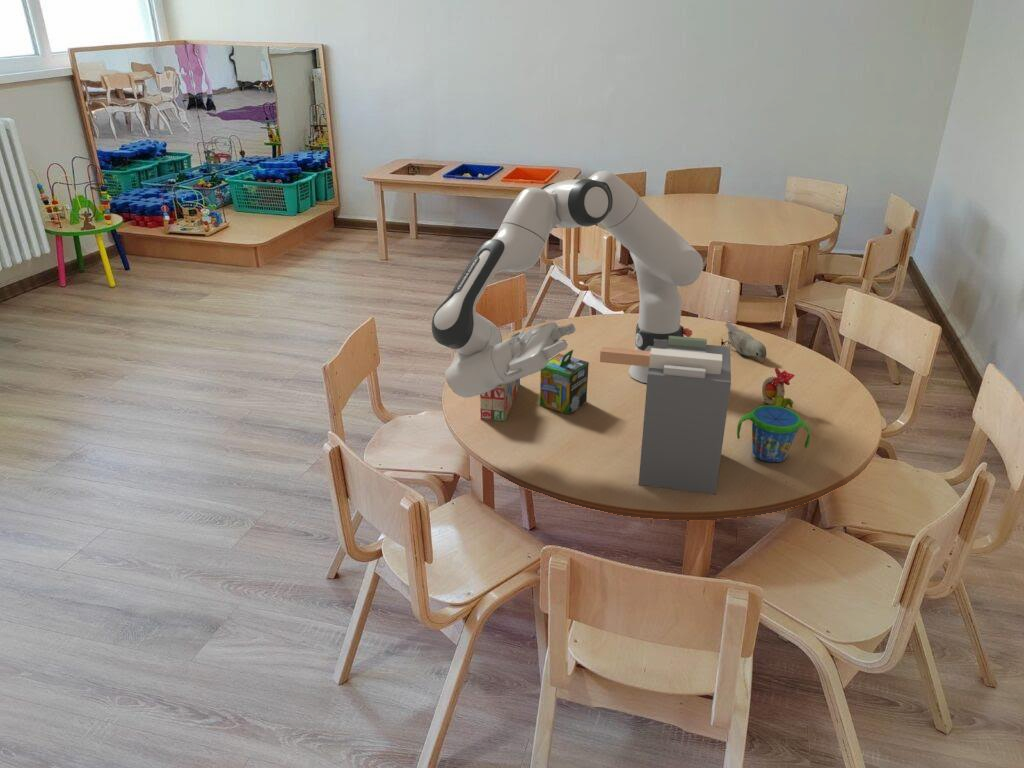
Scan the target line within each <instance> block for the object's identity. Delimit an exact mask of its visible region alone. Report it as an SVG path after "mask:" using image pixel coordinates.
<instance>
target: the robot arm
mask: <svg viewBox="0 0 1024 768" xmlns="http://www.w3.org/2000/svg"><path fill="white" fill-rule="evenodd" d="M599 223H600V224H601V225H602V226H603V227H604V228H605V229H606V230H607V231H608V232H609V233H610V234H611V235H612V236H613V237H614V238H615V239H616V240H617V241H618V242H619V243H620V244H621V245H622V246H623V247H625V249H627V250H628V251H629V254H630V257H631V259H632V261H633V265H634V268H635V273H636V278H637V280H636V281H637V285H638V287H637V288H638V292H639V293H638V294H639V308H638V322H637V324H636V326H635V341H634V342H635V348H634V350H642V351H651V348H653V346H654V341H655V340H661V341H668V340H669V336H678V337H690V338H691V337H692V335H693V330H691V329H690V328H688V327H685V328H684V326H683V325H681V318H682V317H681V316H682V308H683V299H682V295H681V293H680V291H679V289H678V287H688V286H691V285H693V284H694V283H695V282H696V281H697V280H698V279H699V278H700V276H702V275H701V274H702V272H703V270H704V260H703V256H702V255H701V254H700V253H699V252H698V250H696V249H695V248H694V247H693V246H692V245H691V244H690V243H689V242H688V241H687V240H686V239H685V238H684V237H683V236H682V235H681V234H679V232H677V231H676V230H675V229H674V228H672V226H671V225H669V224H668V223H667V222H666V221H665V220H663V219H662V218H661V217H660V216H659V215H658V214H656V213H655V211H654V210H653V209H652V208H651V207H650V206H649V205H648V204H647V203H646V202H645V201H644V200H643V199H642V198H641V196H640V195H638V193H637V192H636V191H635V190H634V189H633V188H632V187H631V186H630V185H629V184H628V183H627V182H625V181H624V179H622V178H621V177H619V176H618V175H616V174H615V173H613V172H611V171H610V170H599V171H596V172H594V173H593V174H592V175H590V176H589V177H588V178H583V179H576V178H575V179H565V180H563V181H558V182H551V183H548V184H546V185H544V186H542V187H541V188H539V187H534V186H533V187H532V186H531V187H526V188H524V189H523V190H521V191H520V192H519V194H518V195H517V197H516V198H515V199H514V201H513V202H512V204H511V205H510V207H509V209H508V211H507V212H506V214H505V216H504V218H503V220H502V222H501V225H500V227H499V228H498V230H497V231H496V233H495V234H494V236H493V237H492V238H491V239H489V240H486V241H485V242H484V243H483V244H481V245H480V247H479V248H477V249H478V250H477V251H476V252H475V254H474V255H473V257H472V258H471V259H470V261H469V263H468V264H467V266H466V268H465V269H464V271H463V273H461V276H460V278H459V279H458V280H457V282H456V283H455V286H454V287H453V289H452V290H451V292H450V293H449V295H448V296H447V297H446V299H445V300H443V302H442V303H441V304H440V305H439V307H438V308H437V309H436V310H435V311H434V313H433V316H432V319H431V320H432V321H431V333H432V336H433V339H434V340H435V341H436V342H437V343H438V344H439V345H441V346H444V347H446V348H450V349H451V350H454V351H455V354H454V357H453V360H452V363H450V366H449V367H448V368H447V369H446V370H445V375H444V376H445V380H446V383H447V384H448V386H449V388H450V389H451V390H452V392H453V393H455V394H456V395H458V396H459V397H462V398H464V399H465V398H466V399H467V398H472V397H473V398H474V397H477V396H480V394H483V393H486V392H489V391H491V390H493V389H495V388H496V387H497V386H499V385H501V384H508V383H511V382H513V381H516V380H518V379H520V380H521V379H523V378H525V377H528V376H531V375H533V374H535V373H539V372H541V370H542V369H543V368H545V366H546V364H547V362H548V361H549V360H550V359H552V358H553V357H555V356H556V355H558V354H560V352H563V351H565V350H566V349H567V348H568V347H569V345H568V343H567V340H565V339H561V338H563V336H566V335H567V336H570V335H572V334H574V333H575V331H576V326H575V325H574V323H569V324H567V325H562V326H561V325H560V326H558V324H557V322H555V321H554V322H553V321H552V322H551V321H550V322H547V323H544V324H541V325H539V326H536V327H534V328H530V329H529V330H526V331H525V332H524V330H520V331H518V332H516V333H514V334H512V335H511V336H510V337H509V338H508V339H505V340H503V341H502V334H501V331H500V329H499V327H497V325H495V324H494V323H493V322H492V321H491V320H489V319H488V318H486V317H484V316H482V315H481V314H480V313H478V312H477V311H476V308H477V307H476V306H477V304H478V303H479V300H480V298H481V297H482V295H483V294H484V292H485V290H486V289H487V287H488V286H489V284H490V282H491V280H492V279H493V278H494V276H496V275H497V274H498V273H500V272H511V273H519V272H523V271H527V270H529V269H531V268H532V267H534V265H535V264H536V263H537V262H538V260H539V258H540V257H541V256H542V253H543V251H544V248H545V246H546V243H547V242H548V239H549V237H550V234H551V232H552V230H553V229H557V228H559V229H561V228H562V229H576V228H581V227H592V226H595V225H598V224H599ZM629 366H630V367H629V369H628V375H629V376H630V377H631V378H632V379H634V380H636V381H638V382H641V383H644V384H647V377H648V370H649V367H645V366H635V365H629Z"/></svg>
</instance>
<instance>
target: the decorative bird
mask: <svg viewBox="0 0 1024 768" xmlns="http://www.w3.org/2000/svg"><path fill="white" fill-rule="evenodd" d="M724 325H725V327H726V329H727V330H728V332H727V339H726V340H725V341H723V340H724V339H723V338H721V342H720V344H721V345H720V346H726V343H727V345H730V346H731V347H733V348H734V350H735V351H737V352H738V353H739V354H741V356H746V357H755V358H756V359H757V361H758V362H759V363H760V364H762V363H763V364H764V362H765V361H766V357H767V347H766V346H765V345H764V343H763V342H761V340H757V339H755V338H754V337H753V336H752V335H751V334H749V332H748V333H747V332H746V331H744V330H741V329H740V328H738V327H737V326H736V325H734V324H732V323H731V322H729V321H728V322H726V323H725V324H724Z"/></svg>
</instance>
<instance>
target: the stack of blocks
mask: <svg viewBox="0 0 1024 768" xmlns="http://www.w3.org/2000/svg"><path fill="white" fill-rule="evenodd" d="M520 385H521V378H520V379H518V380H516V381H513V382H511V383H508V384H501V385H499V386H497V387H496V388H495V389H493V390H491V391H489V392H486V393H483V394H480V395H479V397H480V420H484V419H489V420H488V421H496V420H501V421H500V422H506V419H507V417H508V416H509V413H510V410H511V408H512V406H513V402H514V399H515V398H516V397H515V396H516V394H517V392H518V390H519V388H520Z"/></svg>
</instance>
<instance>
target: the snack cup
mask: <svg viewBox="0 0 1024 768" xmlns="http://www.w3.org/2000/svg"><path fill="white" fill-rule="evenodd" d="M747 420H750V421H751V423H752V424H751V425H752V426H751V428H752V429H751V444H752V446H751V447H752V450H751V451H752V453H753V454H754V456H755V457H757V458H758V459H759V460H761V461H765V462H771V463H772V462H773V463H781V461H783V460H785V459H786V458H787V457H788V455H789V452H790V450H791V447H792V444H793V441H794V438H795V437H796V434H797V432H798V431H799V429H800V428H801V427H804V429H805V430H806V433H807V435H806V439H805V441H804V448H805V449H807V448H808V447H809V444H810V441H811V430H810V427H809V425H808V423H807V422H806V421H805V420H804V419H802V418H801V417H800V415H799V414H798V413H797V412H796V411H793V410H792V409H790V408H787V407H785V408H784V407H780V406H775V405H770V404H768V405H765V404H764V405H759V406H757V407H754V408H753V409H752V411H750V412H747V413H746V414H743V415H742V416H741V418H740V419H739V420H738V424H737V427H736V437H737V440H739V439H740V434H741V429H742V423H743V422H745V421H747Z"/></svg>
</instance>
